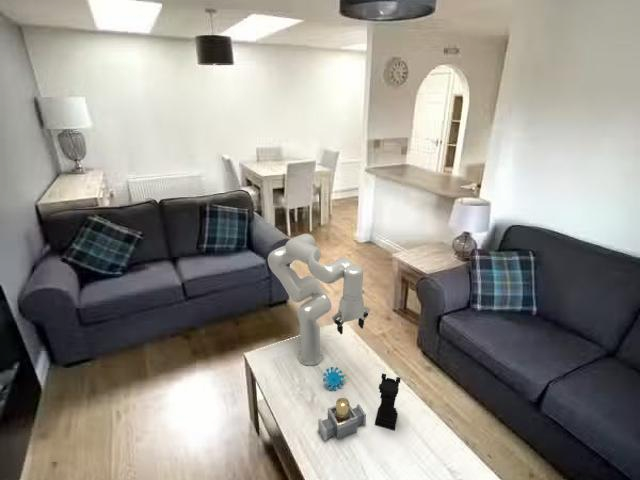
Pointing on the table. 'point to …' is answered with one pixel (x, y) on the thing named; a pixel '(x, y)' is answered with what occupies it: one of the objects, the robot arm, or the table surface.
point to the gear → (334, 378)
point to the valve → (341, 423)
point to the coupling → (342, 409)
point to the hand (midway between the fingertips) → (350, 329)
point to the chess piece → (387, 403)
